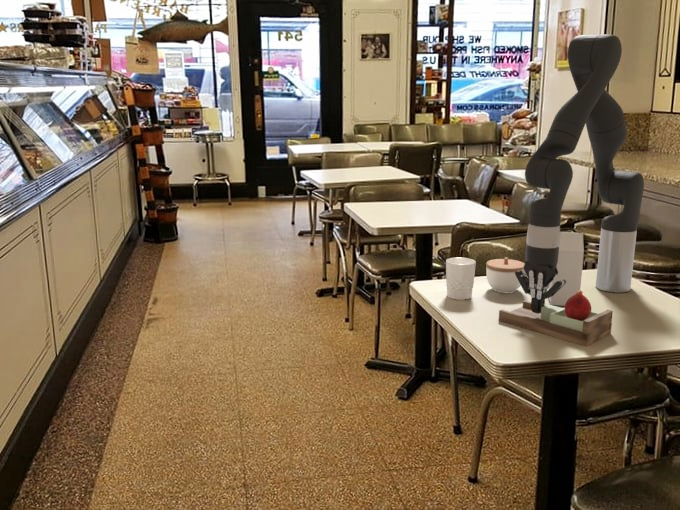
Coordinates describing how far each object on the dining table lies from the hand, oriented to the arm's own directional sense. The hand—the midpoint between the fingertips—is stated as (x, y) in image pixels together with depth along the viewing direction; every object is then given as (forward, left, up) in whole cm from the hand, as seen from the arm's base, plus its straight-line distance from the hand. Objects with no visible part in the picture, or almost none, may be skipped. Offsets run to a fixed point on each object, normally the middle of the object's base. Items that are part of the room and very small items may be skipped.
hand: (537, 312), depth 165 cm
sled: (0, +8, -1) cm, 8 cm away
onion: (0, +10, 0) cm, 10 cm away
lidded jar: (-17, -21, -3) cm, 27 cm away
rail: (0, +5, -3) cm, 5 cm away
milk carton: (-19, -4, -3) cm, 19 cm away
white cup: (-3, -26, -3) cm, 26 cm away
